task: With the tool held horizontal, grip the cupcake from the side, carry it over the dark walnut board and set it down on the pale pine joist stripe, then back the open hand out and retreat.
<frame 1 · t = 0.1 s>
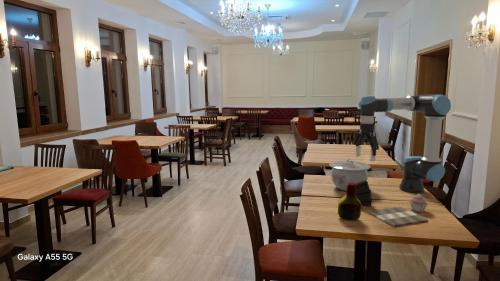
hand: (365, 158, 193), 28 cm above the table, tool pointing down, fingers open, 13 cm apart
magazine: (359, 204, 197), on the table
chamber pot: (348, 188, 228), on the table
cupcake: (417, 210, 187), on the table
bottle: (349, 219, 175), on the table
subfloor board: (396, 216, 177), on the table
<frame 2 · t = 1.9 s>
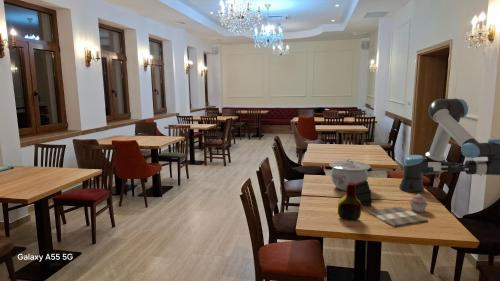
hand: (430, 166, 183), 26 cm above the table, tool horizontal, fingers open, 13 cm apart
nothing on the table moved.
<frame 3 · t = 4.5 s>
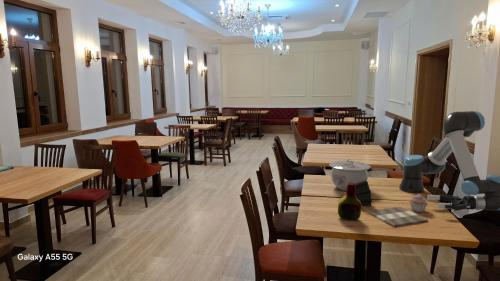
hand: (432, 201, 184), 6 cm above the table, tool horizontal, fingers open, 13 cm apart
nothing on the table moved.
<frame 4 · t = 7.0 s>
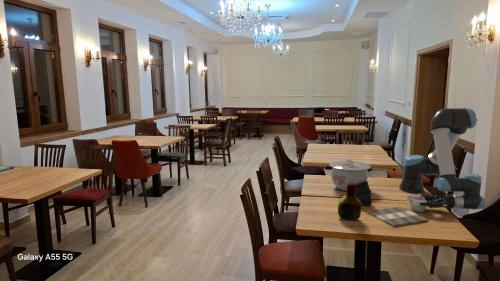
hand: (410, 200, 186), 6 cm above the table, tool horizontal, fingers closed on cupcake, 9 cm apart
cupcake: (417, 210, 187), on the table, touching gripper
everything else where it was.
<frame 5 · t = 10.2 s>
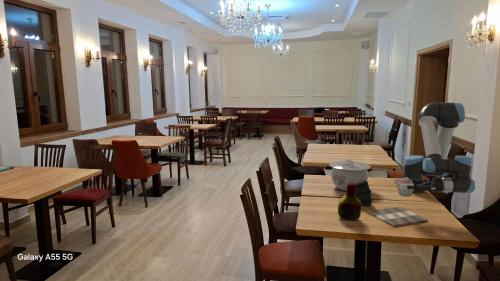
hand: (397, 183, 176), 18 cm above the table, tool horizontal, fingers closed on cupcake, 9 cm apart
cupcake: (404, 195, 177), point 12 cm above the table, touching gripper
everything else where it was.
when the fingers open (8 cm above the table, at t = 13.5 s): cupcake drops 1 cm, resting on subfloor board.
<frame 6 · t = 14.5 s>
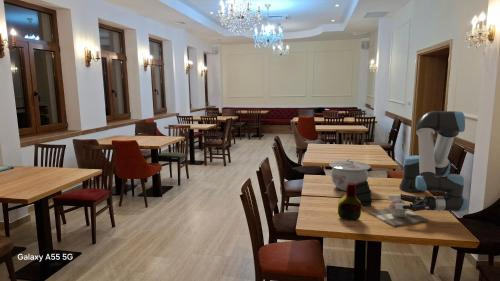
hand: (391, 201, 177), 9 cm above the table, tool horizontal, fingers open, 13 cm apart
cupcake: (397, 215, 177), point 1 cm above the table, touching subfloor board
everything else where it was.
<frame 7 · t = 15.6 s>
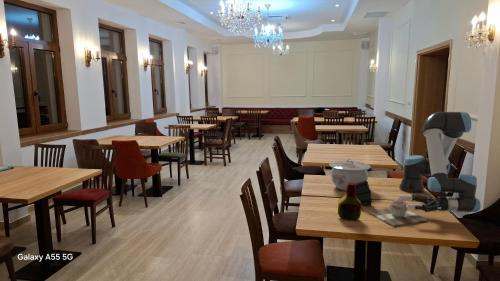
hand: (403, 202, 176), 9 cm above the table, tool horizontal, fingers open, 13 cm apart
nothing on the table moved.
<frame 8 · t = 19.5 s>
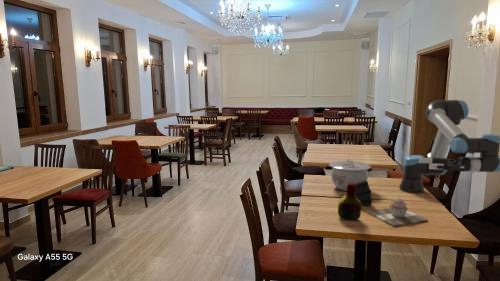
hand: (424, 163, 172), 30 cm above the table, tool horizontal, fingers open, 13 cm apart
nothing on the table moved.
at the end: cupcake inside the target area on the subfloor board (0.5 cm from its centre), point 0.8 cm above the subfloor board's base; cupcake tilted 0°; the gripper is holding nothing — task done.
